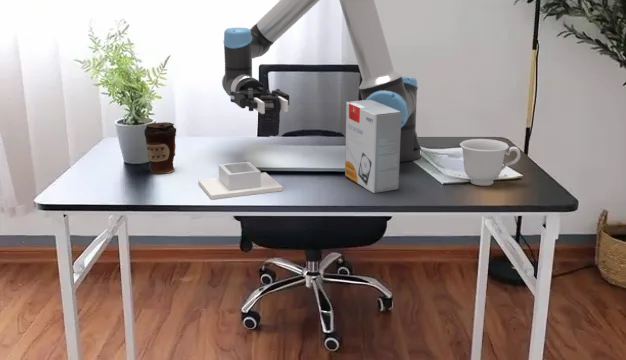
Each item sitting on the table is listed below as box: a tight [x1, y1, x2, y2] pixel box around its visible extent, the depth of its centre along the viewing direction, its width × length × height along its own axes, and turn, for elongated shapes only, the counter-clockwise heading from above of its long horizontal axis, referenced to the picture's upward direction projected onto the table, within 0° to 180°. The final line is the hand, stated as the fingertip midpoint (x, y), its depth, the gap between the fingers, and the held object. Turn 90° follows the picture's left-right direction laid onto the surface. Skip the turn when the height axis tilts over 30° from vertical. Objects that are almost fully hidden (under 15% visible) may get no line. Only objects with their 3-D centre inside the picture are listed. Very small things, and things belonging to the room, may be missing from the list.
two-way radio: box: [257, 74, 281, 137], centre depth 181 cm, size 6×4×15 cm
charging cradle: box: [197, 161, 284, 200], centre depth 184 cm, size 18×14×5 cm
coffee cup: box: [143, 121, 177, 174], centre depth 197 cm, size 9×8×13 cm
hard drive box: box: [344, 99, 401, 194], centre depth 184 cm, size 16×8×20 cm, turn 25°
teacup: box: [459, 138, 521, 187], centre depth 185 cm, size 12×15×10 cm
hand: (274, 107), depth 176 cm, fingers closed on two-way radio, 5 cm apart
